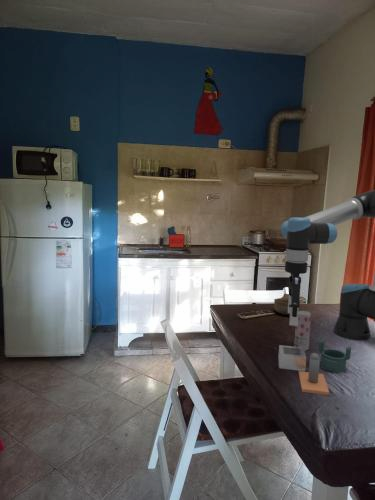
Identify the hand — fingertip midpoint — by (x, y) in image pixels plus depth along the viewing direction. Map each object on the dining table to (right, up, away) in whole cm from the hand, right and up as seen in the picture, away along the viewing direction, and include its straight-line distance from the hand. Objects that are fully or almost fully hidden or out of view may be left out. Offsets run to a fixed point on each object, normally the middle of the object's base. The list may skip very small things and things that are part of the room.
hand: (292, 319), depth 128 cm
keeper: (+3, -19, -12) cm, 23 cm away
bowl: (+15, -9, +63) cm, 65 cm away
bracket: (+15, -18, 0) cm, 23 cm away
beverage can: (+8, -15, +16) cm, 24 cm away
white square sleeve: (0, -17, +2) cm, 17 cm away
